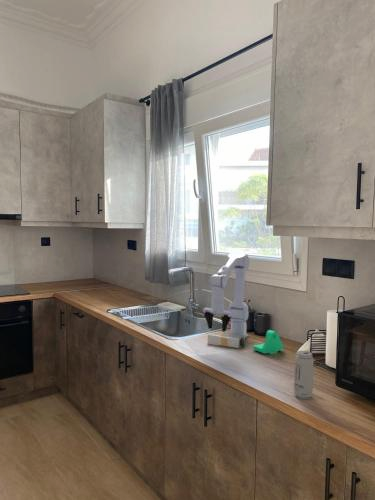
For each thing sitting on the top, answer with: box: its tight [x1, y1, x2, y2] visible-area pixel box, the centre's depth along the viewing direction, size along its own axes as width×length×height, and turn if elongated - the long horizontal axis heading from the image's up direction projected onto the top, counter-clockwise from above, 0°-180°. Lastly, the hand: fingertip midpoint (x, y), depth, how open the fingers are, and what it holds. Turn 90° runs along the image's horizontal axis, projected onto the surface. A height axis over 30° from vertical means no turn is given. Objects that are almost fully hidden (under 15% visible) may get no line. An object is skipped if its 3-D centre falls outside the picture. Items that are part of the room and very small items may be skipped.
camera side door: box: [207, 333, 241, 349], centre depth 186 cm, size 1×16×4 cm, turn 63°
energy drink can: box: [293, 350, 315, 400], centre depth 131 cm, size 6×6×15 cm
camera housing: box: [219, 332, 246, 348], centre depth 188 cm, size 7×11×4 cm, turn 63°
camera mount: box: [253, 329, 284, 355], centre depth 180 cm, size 12×8×10 cm, turn 122°
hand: (217, 329), depth 178 cm, fingers open, 7 cm apart
